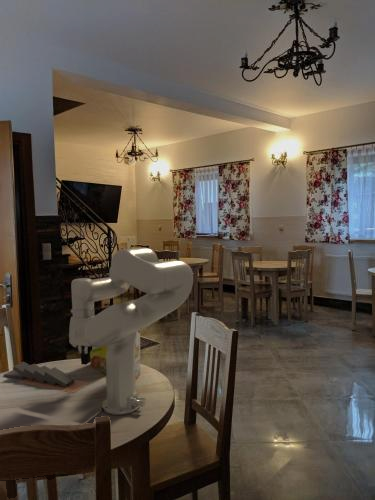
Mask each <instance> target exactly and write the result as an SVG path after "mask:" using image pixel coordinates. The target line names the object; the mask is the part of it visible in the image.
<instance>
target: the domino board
mask: <svg viewBox="0 0 375 500" xmlns="http://www.w3.org/2000/svg"><path fill="white" fill-rule="evenodd" d="M17 383H19V384H20V383H21V384H26V385H31V386H37V387H42V388H45V389H51V390H52V389H53V390H57V391H62V392H68V393H73V394H74V393H76V392H78V391H79V390H80V389H81V388H83V387H85V386H87V385H88V384H89V382H87V381H80V380H76V379H75V381H74V383H73V384H71V385H69V386H68V387H66V388H64V387H62V386H61V385H59V384H57V385H55V386H53V385H52V384H50V383H48V382H46V383H44V384H43V383H41V382H39V381H38V380H34V381H30V380H29V379H27V378H26V379H24V380H20V379H19V380H18V381H17Z"/></svg>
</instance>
